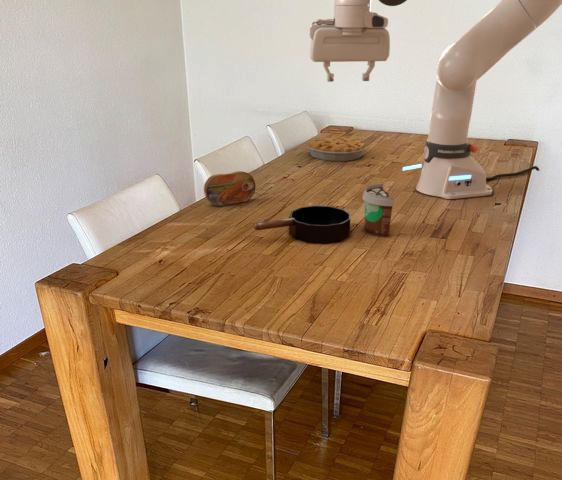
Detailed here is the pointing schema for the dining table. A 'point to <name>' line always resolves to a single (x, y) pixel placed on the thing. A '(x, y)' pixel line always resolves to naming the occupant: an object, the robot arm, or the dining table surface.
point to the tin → (229, 188)
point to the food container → (377, 210)
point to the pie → (336, 148)
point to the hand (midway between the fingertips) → (347, 81)
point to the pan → (314, 224)
